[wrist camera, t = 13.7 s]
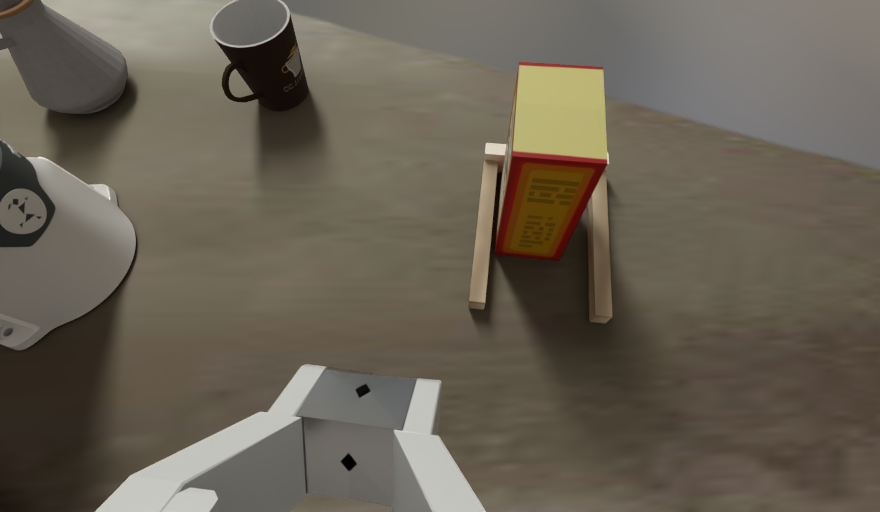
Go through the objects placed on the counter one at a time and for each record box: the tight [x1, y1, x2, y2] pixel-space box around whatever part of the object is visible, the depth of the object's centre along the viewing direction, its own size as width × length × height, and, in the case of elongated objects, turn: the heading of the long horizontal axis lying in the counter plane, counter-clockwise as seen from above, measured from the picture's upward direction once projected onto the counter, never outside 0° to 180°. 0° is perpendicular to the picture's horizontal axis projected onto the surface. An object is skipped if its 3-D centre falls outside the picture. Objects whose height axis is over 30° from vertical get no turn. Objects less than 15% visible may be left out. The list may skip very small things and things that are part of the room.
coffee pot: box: [0, 0, 128, 114], centre depth 48 cm, size 21×12×15 cm, turn 164°
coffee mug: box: [210, 0, 308, 111], centre depth 50 cm, size 12×9×10 cm
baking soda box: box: [495, 62, 607, 261], centre depth 39 cm, size 10×6×16 cm
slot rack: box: [469, 143, 612, 324], centre depth 44 cm, size 13×18×3 cm
